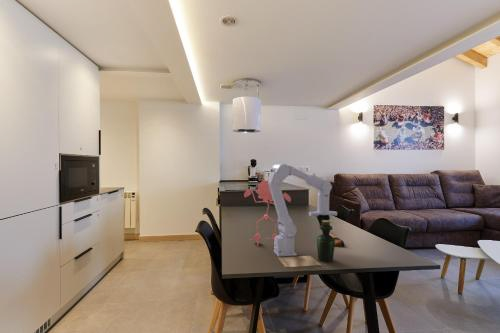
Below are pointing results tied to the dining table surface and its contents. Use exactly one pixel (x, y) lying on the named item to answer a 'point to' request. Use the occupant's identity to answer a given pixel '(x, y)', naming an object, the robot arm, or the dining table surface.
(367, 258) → the dining table surface
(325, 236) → the potion bottle
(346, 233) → the dining table surface
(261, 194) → the figurine
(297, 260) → the placemat
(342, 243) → the sunglasses case
